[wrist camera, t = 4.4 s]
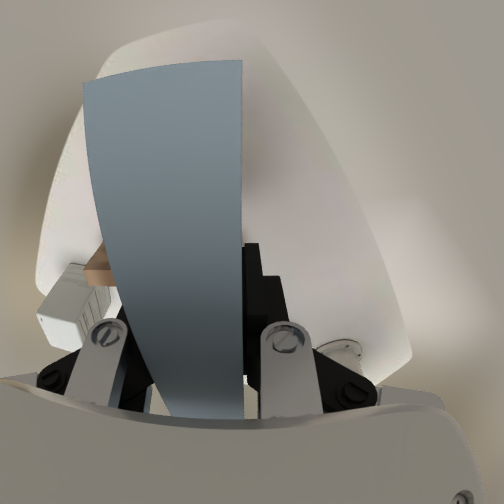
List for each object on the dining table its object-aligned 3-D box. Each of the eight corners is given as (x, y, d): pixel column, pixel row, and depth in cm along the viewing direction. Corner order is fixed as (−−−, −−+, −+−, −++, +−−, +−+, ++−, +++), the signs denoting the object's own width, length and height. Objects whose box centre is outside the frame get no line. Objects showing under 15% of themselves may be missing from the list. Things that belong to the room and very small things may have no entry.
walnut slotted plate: (239, 235, 37) (239, 269, 30) (239, 251, 39) (240, 287, 32) (105, 239, 36) (82, 269, 29) (109, 253, 38) (88, 285, 31)
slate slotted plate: (240, 267, 24) (245, 453, 10) (212, 267, 24) (192, 451, 10) (240, 98, 17) (242, 59, 3) (204, 99, 17) (82, 83, 3)
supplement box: (77, 295, 42) (49, 346, 31) (70, 261, 38) (33, 312, 27) (112, 302, 43) (88, 358, 32) (106, 268, 39) (74, 324, 28)
